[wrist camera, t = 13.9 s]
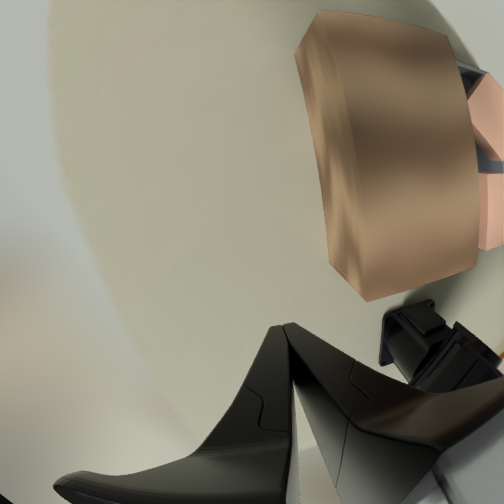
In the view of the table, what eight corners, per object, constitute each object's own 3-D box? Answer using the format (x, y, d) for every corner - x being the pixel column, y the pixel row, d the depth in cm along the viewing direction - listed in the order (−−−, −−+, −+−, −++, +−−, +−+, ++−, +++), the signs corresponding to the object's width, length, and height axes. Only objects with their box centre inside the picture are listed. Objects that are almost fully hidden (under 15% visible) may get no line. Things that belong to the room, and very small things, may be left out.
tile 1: (442, 233, 21) (461, 229, 21) (485, 251, 15) (503, 244, 15) (440, 169, 19) (459, 168, 19) (486, 174, 13) (504, 173, 13)
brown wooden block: (425, 242, 21) (476, 266, 15) (329, 263, 21) (366, 302, 15) (399, 60, 17) (446, 35, 10) (294, 54, 16) (319, 10, 10)
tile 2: (460, 110, 15) (450, 114, 18) (502, 161, 15) (489, 160, 17) (487, 71, 12) (477, 78, 15) (528, 121, 12) (514, 123, 14)
